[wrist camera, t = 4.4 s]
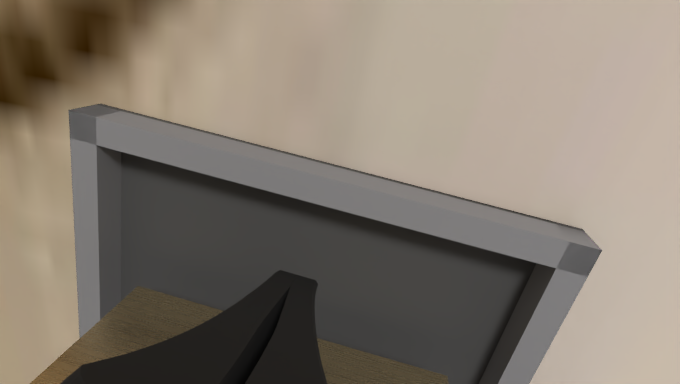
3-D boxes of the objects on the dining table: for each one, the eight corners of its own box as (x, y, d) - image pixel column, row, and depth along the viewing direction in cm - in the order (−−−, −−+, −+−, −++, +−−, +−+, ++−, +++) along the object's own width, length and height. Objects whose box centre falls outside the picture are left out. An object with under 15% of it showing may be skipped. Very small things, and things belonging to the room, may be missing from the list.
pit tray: (582, 229, 14) (601, 250, 12) (459, 469, 19) (463, 503, 17) (100, 103, 15) (68, 110, 13) (104, 360, 20) (82, 383, 18)
